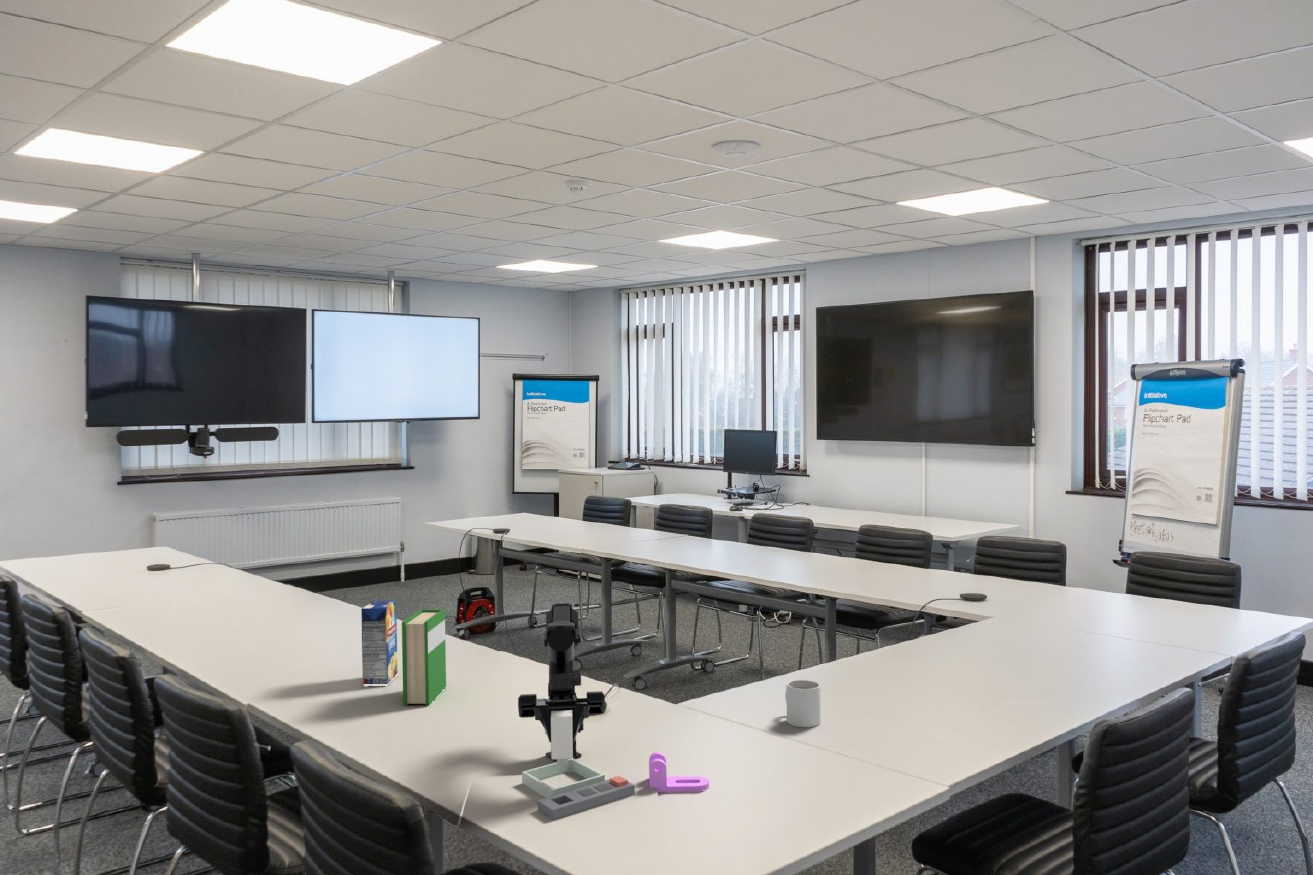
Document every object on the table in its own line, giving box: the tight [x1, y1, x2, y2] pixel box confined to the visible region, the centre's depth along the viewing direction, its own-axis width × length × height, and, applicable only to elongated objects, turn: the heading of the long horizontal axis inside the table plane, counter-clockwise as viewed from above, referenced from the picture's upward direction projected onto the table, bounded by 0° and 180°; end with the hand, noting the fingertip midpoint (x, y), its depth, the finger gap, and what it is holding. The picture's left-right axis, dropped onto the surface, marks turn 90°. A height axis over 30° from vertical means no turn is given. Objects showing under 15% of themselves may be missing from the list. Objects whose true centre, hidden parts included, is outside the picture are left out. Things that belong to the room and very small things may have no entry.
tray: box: [521, 758, 606, 798], centre depth 200 cm, size 13×13×4 cm
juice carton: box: [360, 600, 398, 685], centre depth 286 cm, size 12×8×24 cm, turn 1°
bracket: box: [648, 751, 710, 793], centre depth 200 cm, size 13×6×7 cm, turn 90°
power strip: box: [537, 775, 636, 821], centre depth 190 cm, size 20×6×4 cm, turn 127°
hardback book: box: [401, 608, 447, 707], centre depth 269 cm, size 18×7×24 cm, turn 177°
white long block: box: [550, 710, 573, 767], centre depth 196 cm, size 4×4×11 cm
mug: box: [784, 679, 822, 728], centre depth 243 cm, size 11×10×10 cm
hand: (561, 741), depth 195 cm, fingers closed on white long block, 4 cm apart
